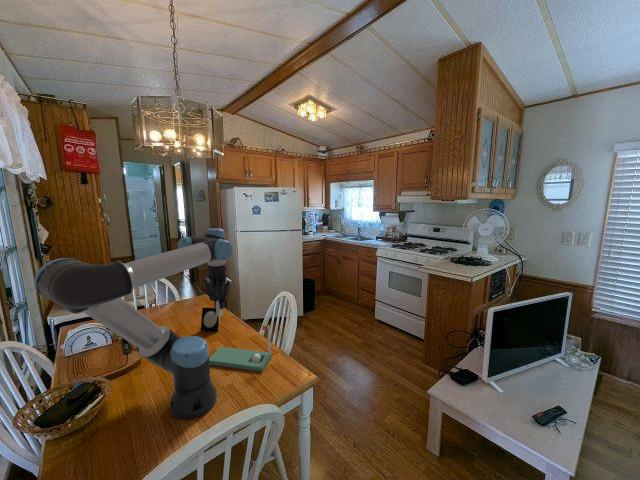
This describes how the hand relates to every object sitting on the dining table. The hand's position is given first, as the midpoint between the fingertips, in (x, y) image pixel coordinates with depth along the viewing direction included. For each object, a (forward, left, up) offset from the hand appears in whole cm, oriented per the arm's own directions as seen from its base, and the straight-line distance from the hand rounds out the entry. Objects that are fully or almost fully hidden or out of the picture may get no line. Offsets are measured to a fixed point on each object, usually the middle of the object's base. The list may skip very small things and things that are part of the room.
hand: (219, 315), depth 122 cm
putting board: (0, -9, -21) cm, 23 cm away
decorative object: (+25, +21, -21) cm, 39 cm away
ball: (0, -17, -19) cm, 25 cm away
